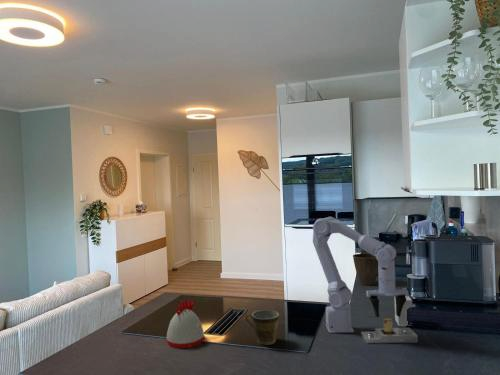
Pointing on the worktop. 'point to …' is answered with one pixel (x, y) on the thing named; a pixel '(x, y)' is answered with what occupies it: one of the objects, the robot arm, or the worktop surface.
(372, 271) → the plant pot
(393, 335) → the notched mounting plate
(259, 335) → the ceramic cup
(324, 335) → the worktop surface
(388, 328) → the brass pin
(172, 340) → the white red bobble hat
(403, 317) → the small box
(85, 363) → the worktop surface
